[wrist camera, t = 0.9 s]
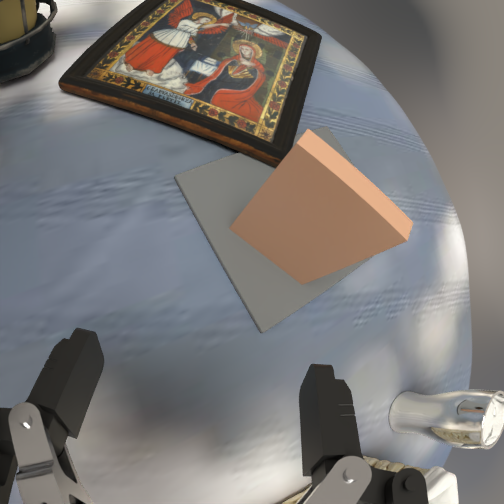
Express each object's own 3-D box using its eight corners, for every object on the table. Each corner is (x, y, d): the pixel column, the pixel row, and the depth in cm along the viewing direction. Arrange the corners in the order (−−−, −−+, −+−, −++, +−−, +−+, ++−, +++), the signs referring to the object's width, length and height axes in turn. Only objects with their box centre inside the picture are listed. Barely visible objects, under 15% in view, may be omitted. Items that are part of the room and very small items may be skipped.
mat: (174, 178, 34) (174, 175, 33) (325, 128, 44) (327, 126, 43) (260, 333, 32) (262, 333, 32) (394, 239, 42) (396, 238, 42)
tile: (302, 284, 35) (407, 240, 20) (228, 228, 34) (296, 142, 19) (310, 270, 35) (413, 220, 21) (239, 215, 34) (309, 127, 20)
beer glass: (382, 401, 35) (479, 409, 21) (416, 379, 37) (506, 377, 24) (389, 444, 33) (480, 463, 20) (422, 421, 36) (508, 428, 22)
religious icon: (152, -15, 43) (155, -26, 40) (316, 35, 52) (323, 25, 49) (45, 111, 30) (42, 97, 28) (308, 184, 39) (319, 173, 37)
